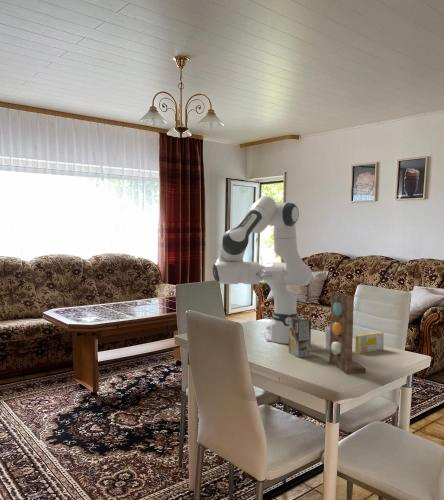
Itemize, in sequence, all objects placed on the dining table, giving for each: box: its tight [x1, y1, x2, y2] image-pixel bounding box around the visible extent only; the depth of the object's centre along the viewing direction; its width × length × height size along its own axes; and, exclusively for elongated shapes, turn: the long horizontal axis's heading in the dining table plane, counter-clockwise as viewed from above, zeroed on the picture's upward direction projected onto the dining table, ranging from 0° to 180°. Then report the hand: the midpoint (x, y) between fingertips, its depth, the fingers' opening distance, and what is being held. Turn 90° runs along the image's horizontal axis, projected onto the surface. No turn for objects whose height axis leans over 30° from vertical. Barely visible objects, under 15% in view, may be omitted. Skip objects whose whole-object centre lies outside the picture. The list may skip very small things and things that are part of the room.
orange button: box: [332, 322, 342, 335], centre depth 174 cm, size 5×4×5 cm
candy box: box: [354, 331, 385, 354], centre depth 201 cm, size 16×2×8 cm, turn 116°
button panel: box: [328, 290, 367, 375], centre depth 175 cm, size 16×8×30 cm, turn 10°
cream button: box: [331, 342, 341, 354], centre depth 175 cm, size 5×4×5 cm
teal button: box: [333, 303, 343, 315], centre depth 174 cm, size 5×4×5 cm
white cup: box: [324, 326, 330, 351], centre depth 202 cm, size 8×8×10 cm
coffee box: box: [288, 316, 312, 358], centre depth 193 cm, size 9×6×16 cm
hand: (287, 273), depth 174 cm, fingers closed
